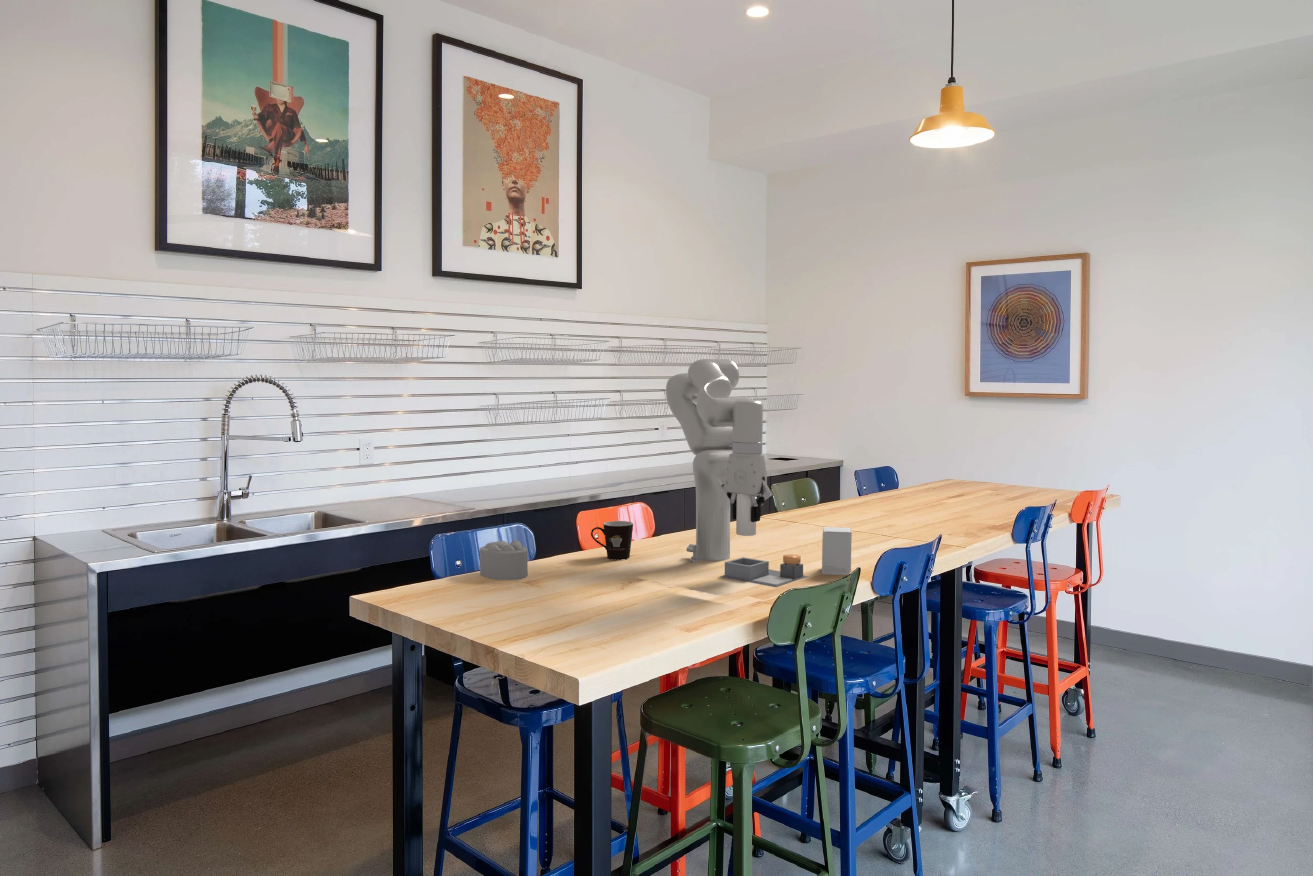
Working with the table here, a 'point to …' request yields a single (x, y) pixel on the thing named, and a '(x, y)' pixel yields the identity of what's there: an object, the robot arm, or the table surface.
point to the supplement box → (836, 550)
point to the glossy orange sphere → (791, 559)
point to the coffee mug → (616, 539)
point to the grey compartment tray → (762, 572)
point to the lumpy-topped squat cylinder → (504, 561)
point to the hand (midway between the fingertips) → (746, 519)
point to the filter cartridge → (744, 516)
